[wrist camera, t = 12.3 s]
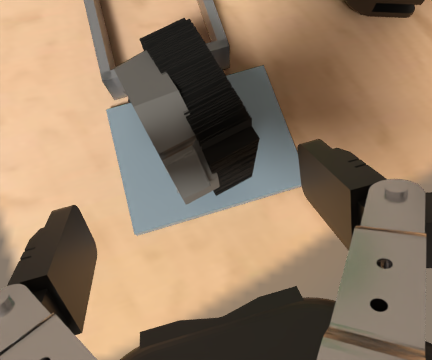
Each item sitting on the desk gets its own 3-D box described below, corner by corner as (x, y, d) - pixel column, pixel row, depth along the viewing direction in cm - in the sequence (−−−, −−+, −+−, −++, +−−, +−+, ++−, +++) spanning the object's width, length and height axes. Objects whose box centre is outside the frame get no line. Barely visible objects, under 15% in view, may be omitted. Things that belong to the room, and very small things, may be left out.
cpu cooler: (136, 114, 30) (89, 32, 20) (196, 84, 30) (180, -10, 20) (192, 221, 27) (170, 187, 17) (257, 186, 27) (271, 134, 18)
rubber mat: (262, 70, 31) (263, 65, 30) (306, 184, 28) (308, 182, 27) (109, 114, 31) (106, 109, 30) (137, 235, 27) (134, 234, 27)
